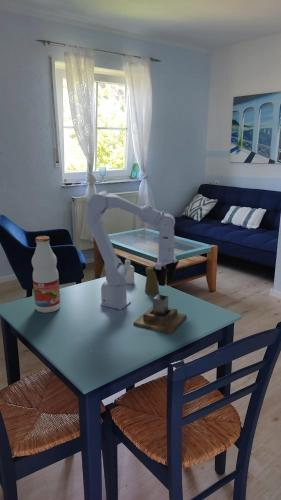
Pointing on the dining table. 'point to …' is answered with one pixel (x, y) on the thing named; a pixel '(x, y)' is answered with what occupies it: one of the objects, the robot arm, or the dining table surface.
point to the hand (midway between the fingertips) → (166, 282)
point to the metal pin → (160, 305)
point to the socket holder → (160, 320)
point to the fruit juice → (45, 277)
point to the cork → (151, 281)
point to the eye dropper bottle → (129, 272)
